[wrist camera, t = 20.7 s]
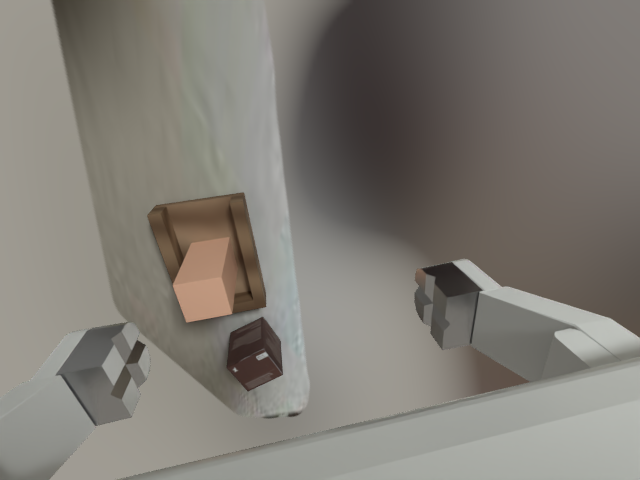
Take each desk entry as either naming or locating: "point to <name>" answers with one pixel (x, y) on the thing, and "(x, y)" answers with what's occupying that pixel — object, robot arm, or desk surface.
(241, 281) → the cradle
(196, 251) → the block
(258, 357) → the box
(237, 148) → the desk surface
